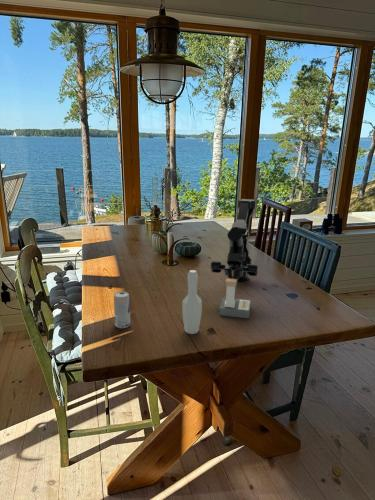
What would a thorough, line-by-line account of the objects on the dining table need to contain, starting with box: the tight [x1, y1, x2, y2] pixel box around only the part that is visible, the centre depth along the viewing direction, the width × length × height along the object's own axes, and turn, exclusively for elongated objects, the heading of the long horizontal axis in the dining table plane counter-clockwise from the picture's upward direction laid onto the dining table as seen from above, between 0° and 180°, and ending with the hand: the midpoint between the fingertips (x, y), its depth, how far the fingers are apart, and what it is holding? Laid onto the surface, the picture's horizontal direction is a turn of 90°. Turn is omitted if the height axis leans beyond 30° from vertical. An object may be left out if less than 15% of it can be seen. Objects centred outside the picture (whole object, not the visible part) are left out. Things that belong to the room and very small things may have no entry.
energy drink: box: [113, 290, 131, 329], centre depth 126 cm, size 5×5×12 cm
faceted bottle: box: [181, 269, 203, 335], centre depth 122 cm, size 6×6×22 cm
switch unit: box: [218, 297, 252, 319], centre depth 140 cm, size 10×11×3 cm
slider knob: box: [224, 277, 238, 308], centre depth 136 cm, size 4×4×10 cm
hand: (232, 288), depth 142 cm, fingers closed
